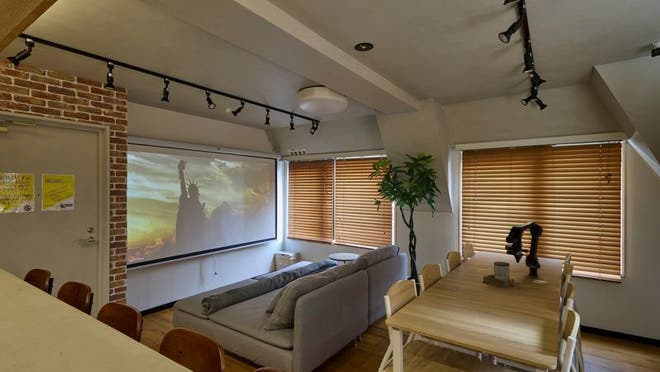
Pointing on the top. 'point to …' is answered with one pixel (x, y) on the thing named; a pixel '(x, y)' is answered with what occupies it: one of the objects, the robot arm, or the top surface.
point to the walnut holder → (497, 281)
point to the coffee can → (501, 271)
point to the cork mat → (539, 282)
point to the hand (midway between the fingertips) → (517, 262)
